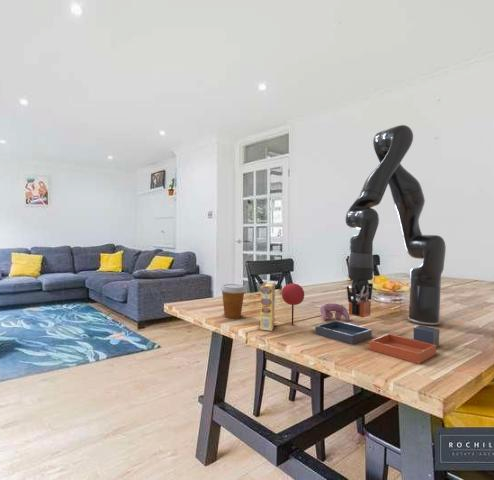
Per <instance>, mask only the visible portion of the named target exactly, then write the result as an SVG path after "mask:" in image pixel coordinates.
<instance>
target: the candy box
mask: <svg viewBox="0 0 494 480" xmlns="http://www.w3.org/2000/svg"><path fill="white" fill-rule="evenodd" d="M275 305H276V282H270V281H264V282H263V283H262V284H261V285H260V320H259V321H260V322H259V323H260V324H259V325H260V328H259V330H260V331H269V332H270V331H271V332H272V331H273V329H274V326H275V308H276V307H275Z"/></svg>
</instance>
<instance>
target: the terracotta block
mask: <svg viewBox="0 0 494 480" xmlns="http://www.w3.org/2000/svg"><path fill="white" fill-rule="evenodd" d="M371 304H372V302H371V301H370V300H369V301H366V300H360V304H359V315H354V314H352V303H351V302H348V314H349V316H350V315H351V316H354V317H358V318H366V317H369V316H371Z"/></svg>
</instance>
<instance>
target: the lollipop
mask: <svg viewBox="0 0 494 480" xmlns="http://www.w3.org/2000/svg"><path fill="white" fill-rule="evenodd" d="M281 297H282V300H283V301H284V303H286V304H288V305H291V326H294V306H298V305H300V304H301V303H302V302H303V301H304V299H305V290H304V288H303V287H302V286H301V285H299V284H298V283H287V284H285V285H284V286H283V287H282V290H281Z"/></svg>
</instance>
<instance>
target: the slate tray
mask: <svg viewBox="0 0 494 480" xmlns="http://www.w3.org/2000/svg"><path fill="white" fill-rule="evenodd" d="M314 331H315V335H319V336H323V337H325V338H329V339H332V340H336V341H340V342H342V343H345V344H350V345H355V344H358V343H360V342H363V341H366V340H368V339H370V338H372V337H373V329H372V328H368V327H363V326H360V325H357V324H351V323H347V322H344V321H339V320H332V321H329V322H325V323H321V324H318V325H315V329H314Z"/></svg>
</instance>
